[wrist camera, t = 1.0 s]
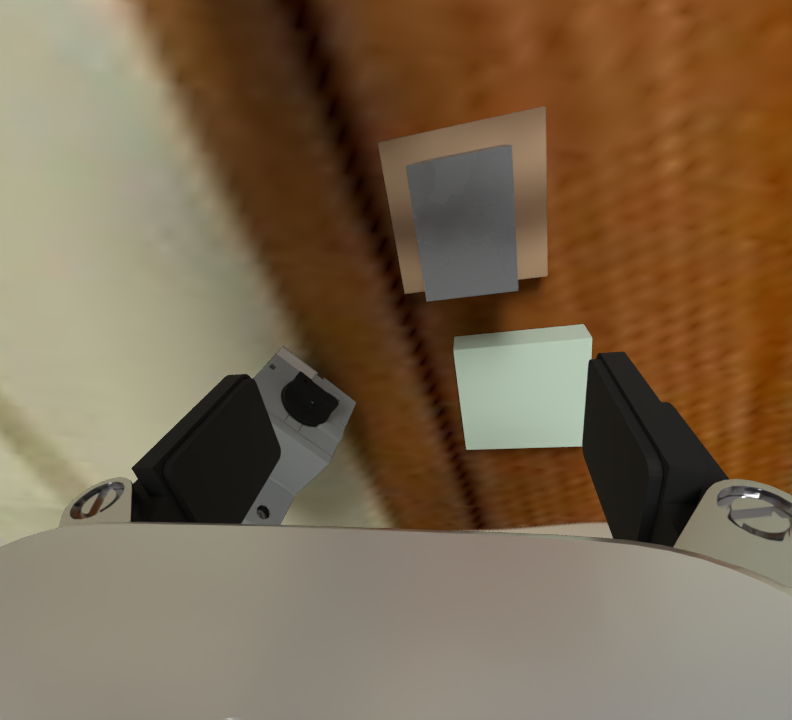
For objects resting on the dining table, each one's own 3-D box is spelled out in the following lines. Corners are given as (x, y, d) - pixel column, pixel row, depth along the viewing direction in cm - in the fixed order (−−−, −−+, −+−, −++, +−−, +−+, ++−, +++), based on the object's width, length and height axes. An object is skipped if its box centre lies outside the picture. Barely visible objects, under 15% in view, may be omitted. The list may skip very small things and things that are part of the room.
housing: (420, 160, 25) (405, 166, 19) (502, 144, 24) (511, 144, 18) (435, 269, 28) (426, 301, 22) (508, 259, 27) (518, 290, 21)
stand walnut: (385, 142, 27) (377, 142, 25) (539, 109, 25) (545, 105, 23) (409, 283, 32) (404, 293, 29) (541, 266, 29) (547, 276, 27)
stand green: (454, 336, 33) (453, 350, 31) (583, 324, 31) (592, 337, 29) (466, 432, 38) (466, 449, 35) (580, 427, 35) (587, 446, 33)
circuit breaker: (378, 367, 36) (324, 495, 23) (296, 449, 42) (219, 585, 29) (311, 313, 34) (213, 417, 21) (237, 407, 41) (129, 531, 28)
